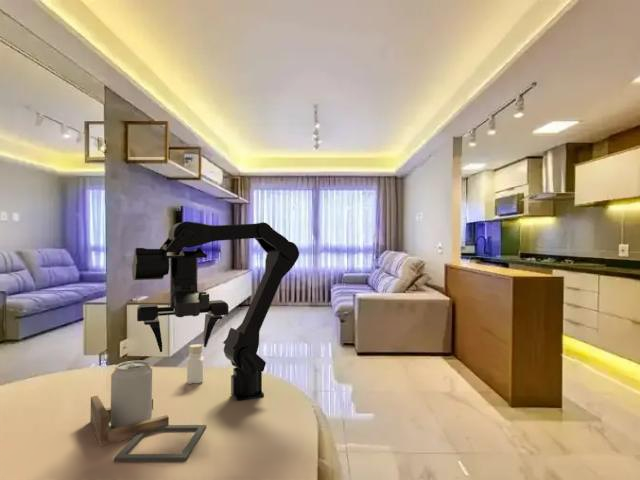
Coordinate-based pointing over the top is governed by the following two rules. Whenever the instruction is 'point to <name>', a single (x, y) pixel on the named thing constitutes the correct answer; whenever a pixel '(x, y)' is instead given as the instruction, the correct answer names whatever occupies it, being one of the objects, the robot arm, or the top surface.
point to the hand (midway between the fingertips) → (183, 349)
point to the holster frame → (126, 457)
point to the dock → (107, 436)
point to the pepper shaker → (195, 364)
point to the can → (131, 393)
